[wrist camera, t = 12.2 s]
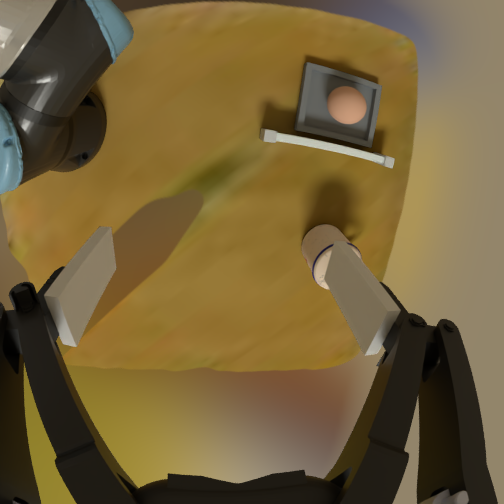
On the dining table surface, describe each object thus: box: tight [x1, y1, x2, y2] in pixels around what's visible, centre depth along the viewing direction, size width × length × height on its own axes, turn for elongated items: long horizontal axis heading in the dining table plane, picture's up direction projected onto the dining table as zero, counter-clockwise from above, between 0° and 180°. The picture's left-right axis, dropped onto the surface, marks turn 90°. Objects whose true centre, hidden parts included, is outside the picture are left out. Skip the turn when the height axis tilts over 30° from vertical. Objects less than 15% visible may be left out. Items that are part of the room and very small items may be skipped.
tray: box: [294, 62, 382, 148], centre depth 39 cm, size 14×12×2 cm
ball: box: [327, 86, 367, 124], centre depth 37 cm, size 6×6×6 cm
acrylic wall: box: [260, 128, 394, 168], centre depth 41 cm, size 23×2×5 cm, turn 82°
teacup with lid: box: [302, 224, 362, 289], centre depth 47 cm, size 12×9×12 cm
